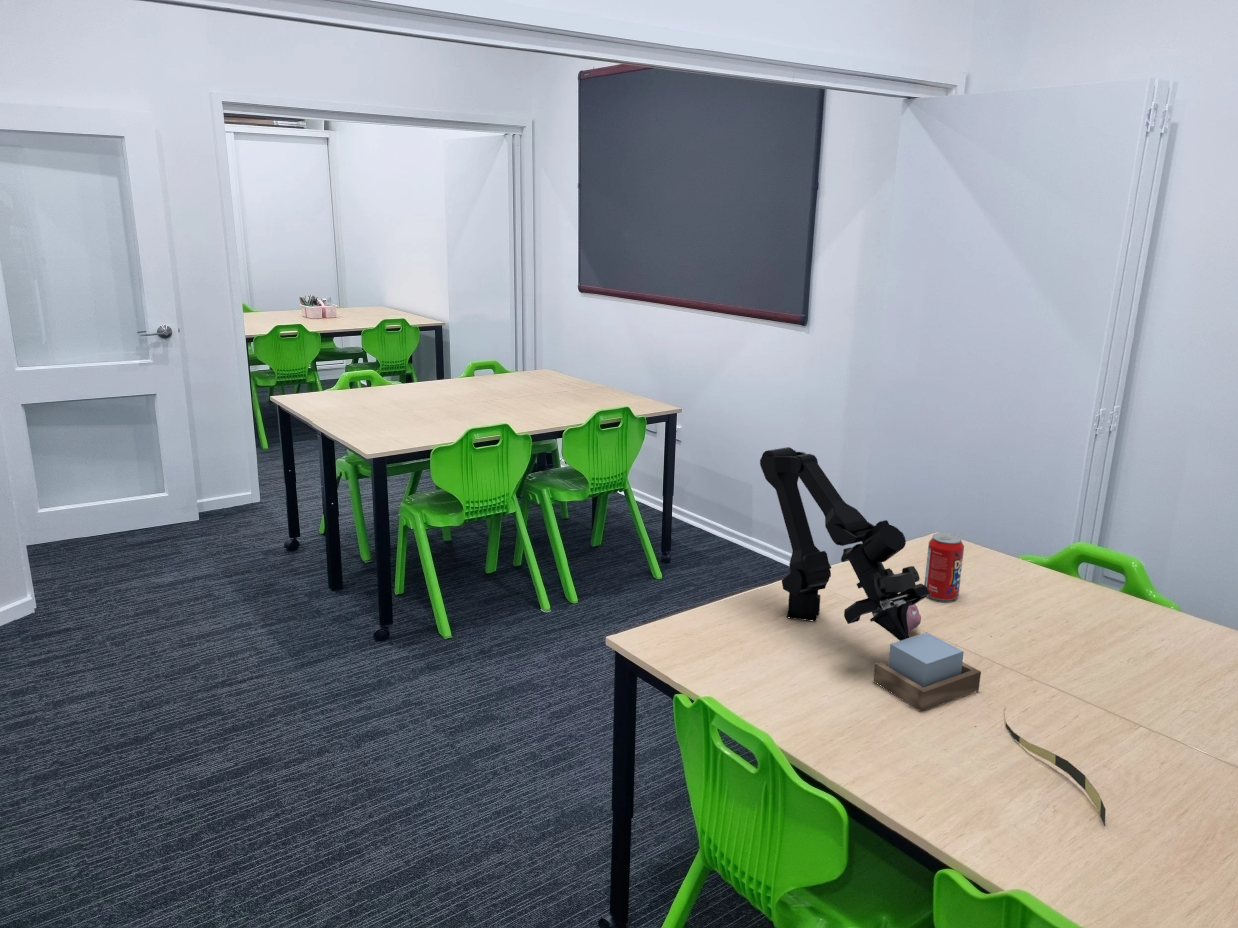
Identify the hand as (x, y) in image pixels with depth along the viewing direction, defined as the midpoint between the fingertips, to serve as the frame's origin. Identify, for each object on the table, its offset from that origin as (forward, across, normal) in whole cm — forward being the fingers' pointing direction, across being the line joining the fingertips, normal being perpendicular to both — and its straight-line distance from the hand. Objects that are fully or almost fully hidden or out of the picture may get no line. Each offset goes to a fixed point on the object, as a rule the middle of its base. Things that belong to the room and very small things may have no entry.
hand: (907, 642), depth 174 cm
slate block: (+8, 0, +2) cm, 8 cm away
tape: (+27, +2, -17) cm, 32 cm away
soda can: (-11, +35, +20) cm, 42 cm away
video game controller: (-6, +15, +16) cm, 22 cm away
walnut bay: (+8, 0, +1) cm, 8 cm away
